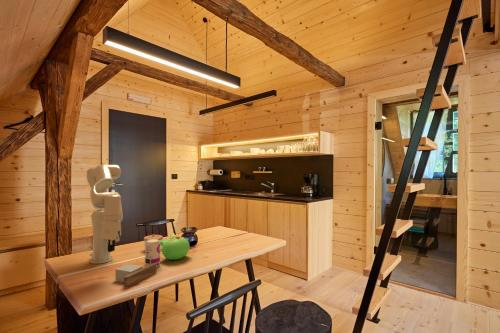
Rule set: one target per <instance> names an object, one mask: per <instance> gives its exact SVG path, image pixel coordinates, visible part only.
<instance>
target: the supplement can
mask: <svg viewBox="0 0 500 333" xmlns="http://www.w3.org/2000/svg"><path fill="white" fill-rule="evenodd" d="M144 248H145V249H144V251H145V252H144V253H145V254H144V257H145V258H144V260H145V261H144V263H145V265H144V267H145V266H147V265H150V264H152V263H156V268H158V267H159V266H160V265H161V247H160V241H159V240H158V239H151V240H147V242H146V244H145V246H144Z"/></svg>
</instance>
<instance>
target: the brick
mask: <svg viewBox="0 0 500 333" xmlns="http://www.w3.org/2000/svg"><path fill="white" fill-rule="evenodd" d="M141 268H143V266H141V265H137V264H130V263H126V264H124V265H122V266H120V267H117V268H116V269H115V280H116V282H122V283H124V276H126V275H129V274H131V273H133V272H135V271H137V270H139V269H141Z"/></svg>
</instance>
